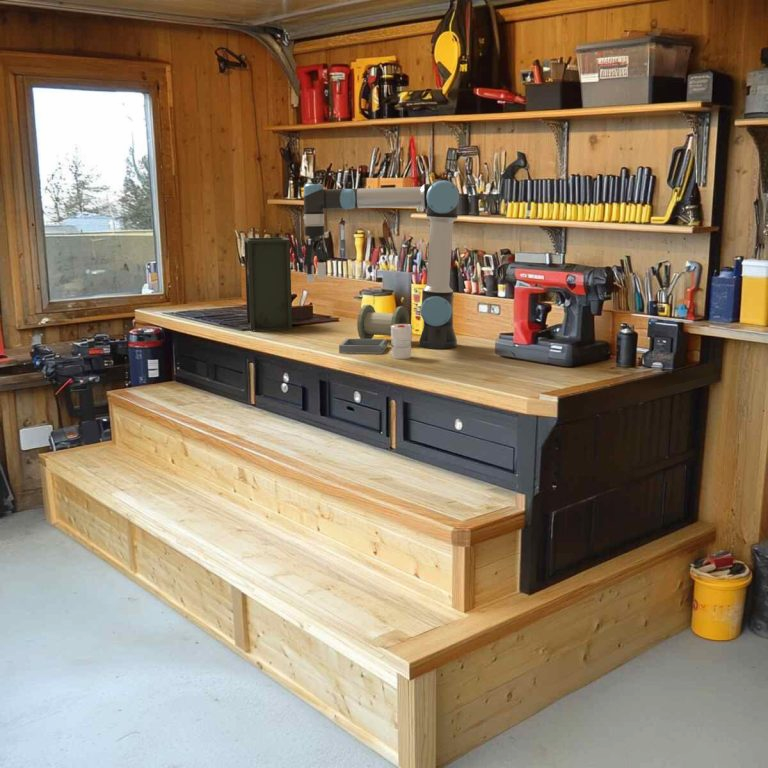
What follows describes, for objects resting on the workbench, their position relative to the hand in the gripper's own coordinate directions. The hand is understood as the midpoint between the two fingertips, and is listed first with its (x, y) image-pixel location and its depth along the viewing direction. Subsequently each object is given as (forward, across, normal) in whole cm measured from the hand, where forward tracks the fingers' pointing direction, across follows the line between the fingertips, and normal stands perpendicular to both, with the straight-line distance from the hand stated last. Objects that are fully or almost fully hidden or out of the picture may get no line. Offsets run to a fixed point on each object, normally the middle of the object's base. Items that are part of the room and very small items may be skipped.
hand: (315, 281), depth 352 cm
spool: (+28, -23, +21) cm, 42 cm away
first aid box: (+27, -51, -39) cm, 70 cm away
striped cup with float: (+28, +8, +35) cm, 46 cm away
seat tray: (+27, -4, +18) cm, 33 cm away
